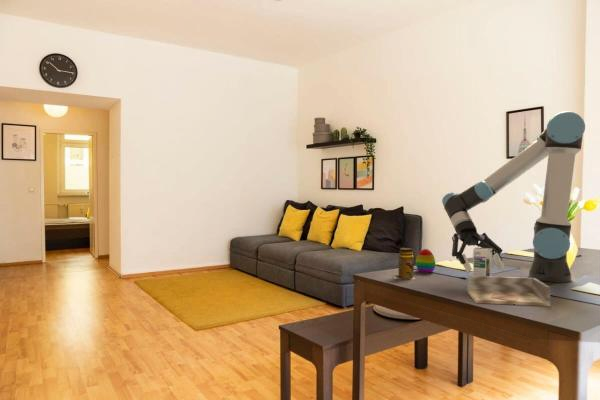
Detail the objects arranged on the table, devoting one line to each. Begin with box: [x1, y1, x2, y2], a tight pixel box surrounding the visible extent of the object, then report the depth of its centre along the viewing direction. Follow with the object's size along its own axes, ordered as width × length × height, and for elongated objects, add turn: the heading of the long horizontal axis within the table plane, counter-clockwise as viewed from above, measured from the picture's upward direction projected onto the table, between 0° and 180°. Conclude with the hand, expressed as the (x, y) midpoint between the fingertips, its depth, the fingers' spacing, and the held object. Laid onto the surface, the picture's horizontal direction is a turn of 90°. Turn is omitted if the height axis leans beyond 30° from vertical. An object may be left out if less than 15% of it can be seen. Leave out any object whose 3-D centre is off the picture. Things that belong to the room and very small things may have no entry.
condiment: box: [392, 247, 416, 280], centre depth 183 cm, size 7×8×12 cm
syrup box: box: [472, 246, 493, 276], centre depth 166 cm, size 6×6×14 cm
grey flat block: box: [467, 275, 551, 307], centre depth 149 cm, size 22×14×6 cm, turn 80°
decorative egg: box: [415, 248, 436, 274], centre depth 195 cm, size 8×8×10 cm
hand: (486, 270), depth 164 cm, fingers open, 13 cm apart
